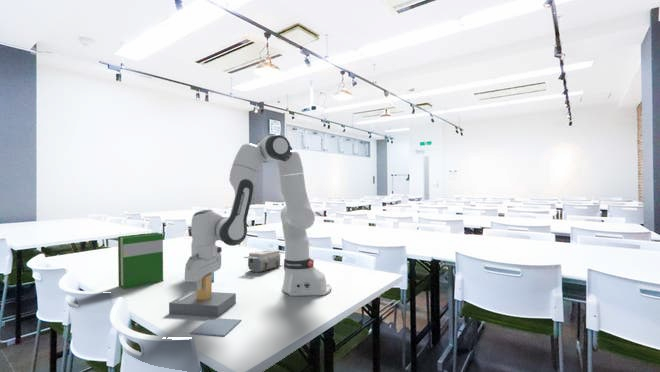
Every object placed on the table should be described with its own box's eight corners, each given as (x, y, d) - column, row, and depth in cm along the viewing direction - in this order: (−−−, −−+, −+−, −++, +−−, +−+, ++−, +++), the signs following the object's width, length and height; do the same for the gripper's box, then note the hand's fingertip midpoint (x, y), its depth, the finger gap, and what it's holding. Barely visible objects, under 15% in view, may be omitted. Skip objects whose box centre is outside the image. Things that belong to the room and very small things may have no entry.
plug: (211, 302, 129) (211, 272, 129) (205, 306, 125) (206, 275, 125) (202, 301, 130) (202, 271, 130) (196, 305, 126) (196, 274, 126)
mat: (241, 320, 115) (241, 319, 115) (224, 336, 103) (224, 335, 103) (210, 318, 117) (210, 317, 117) (190, 333, 106) (190, 332, 106)
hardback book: (123, 289, 152) (123, 238, 152) (118, 286, 157) (118, 236, 157) (163, 281, 165) (162, 233, 165) (157, 278, 170) (156, 232, 170)
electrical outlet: (239, 272, 178) (240, 254, 178) (270, 264, 203) (270, 248, 204) (257, 274, 173) (257, 255, 173) (286, 266, 199) (286, 249, 199)
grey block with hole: (235, 303, 133) (235, 292, 133) (218, 316, 119) (218, 305, 119) (191, 300, 136) (191, 290, 136) (169, 313, 123) (169, 302, 123)
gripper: (195, 257, 117) (196, 296, 117) (223, 246, 137) (224, 279, 137) (179, 257, 118) (180, 295, 118) (210, 246, 138) (210, 279, 138)
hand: (204, 286), depth 128 cm, fingers closed on plug, 4 cm apart
